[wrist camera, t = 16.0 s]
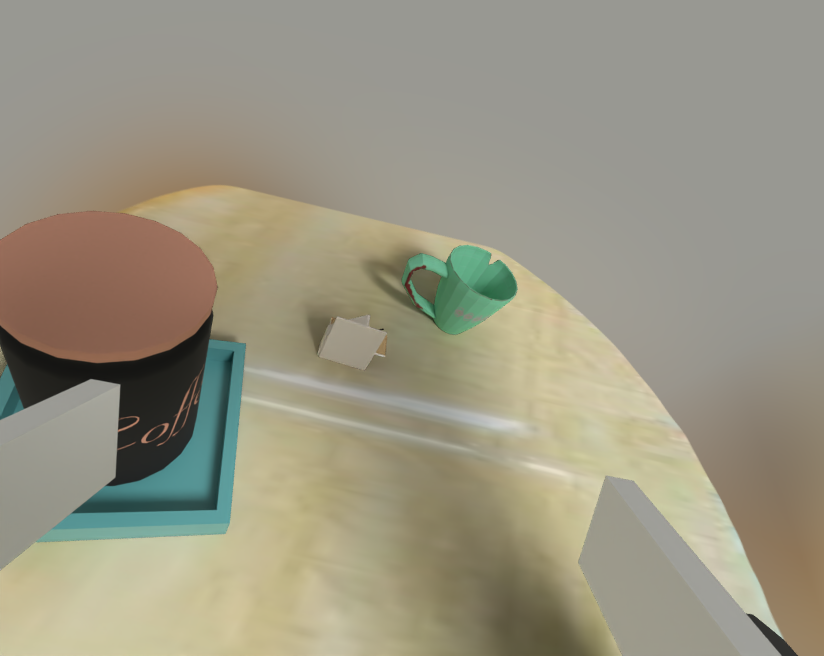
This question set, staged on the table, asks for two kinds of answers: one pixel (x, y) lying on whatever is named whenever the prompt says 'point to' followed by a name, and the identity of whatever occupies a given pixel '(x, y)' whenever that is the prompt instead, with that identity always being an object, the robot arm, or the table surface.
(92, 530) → the tray
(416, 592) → the table surface
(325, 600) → the table surface
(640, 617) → the robot arm
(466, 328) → the mug
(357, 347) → the architectural model
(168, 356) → the coffee jar
